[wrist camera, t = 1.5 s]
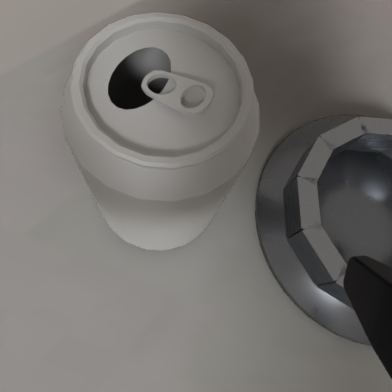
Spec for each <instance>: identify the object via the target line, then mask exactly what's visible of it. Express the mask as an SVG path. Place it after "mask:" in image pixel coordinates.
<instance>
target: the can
mask: <svg viewBox="0 0 392 392" xmlns="http://www.w3.org/2000/svg"><path fill="white" fill-rule="evenodd" d="M61 117H62V122H63V127H64V133H65V138H66V141H67V143H68V145H69V147H70V149H71V151H72V153H73V155H74V157H75V160H76V162H77V164H78V166H79V168H80V170H81V172H82V174H83V176H84V178H85V180H86V182H87V184H88V186H89V188H90V190H91V192H92V194H93V196H94V199H95V201H96V203H97V205H98V207H99V209H100V211H101V213H102V215H103V216H104V218H105V220H106V221H107V223H108V225H109V226H110V228H111V230H113V231H114V232H115V233H116V234H117V235H119V236H120V237H121V238H122V239H123V240H125V241H126V242H128V243H130V244H133V245H135V246H138V247H140V248H143V249H148V250H168V249H172V248H176V247H180V246H184V245H185V244H187V243H188V242H190V241H192V240H193V239H195V238H196V237H198V236H199V235H200V234H201V233H202V232H203V231H204V229H205V228H206V227H207V226H208V224H209V223H210V222H211V221H212V219H213V217H214V216H215V214H216V212H217V211H218V209H219V207H220V206H221V204H222V202H223V201H224V199H225V198H226V196H227V194H228V193H229V191H230V189H231V188H232V186H233V184H234V183H235V181H236V179H237V178H238V176H239V174H240V173H241V171H242V169H243V168H244V166H245V164H246V163H247V161H248V160H249V158H250V156H251V154H252V151H253V148H254V145H255V142H256V139H257V136H258V134H259V131H260V125H259V103H258V100H257V97H256V95H255V92H254V81H253V79H252V76H251V73H250V71H249V68H248V66H247V63H246V60H245V58H244V57H243V56H242V55H241V53H240V52H239V51H238V50H237V49H236V47H235V46H234V45H233V44H232V42H231V41H230V40H229V39H228V38H226V37H225V36H223V35H222V34H221V33H219V32H218V31H216V30H215V29H214V28H212V27H211V26H209V25H207V24H205V23H202V22H200V21H197V20H194V19H192V18H189V17H187V16H184V15H176V14H168V13H160V12H155V13H147V14H139V15H131V16H128V17H126V18H123V19H121V20H118V21H116V22H114V23H111V24H109V25H107V26H105V27H104V28H103V29H102V30H100V31H99V32H98V33H97V34H95V35H94V36H93V37H92V38H90V39H89V40H88V41H87V42H86V44H85V45H84V47H83V49H82V50H81V52H80V53H79V55H78V57H77V58H76V60H75V61H74V66H73V71H72V75H71V76H70V78H69V80H68V81H67V83H66V85H65V90H64V96H63V101H62V106H61Z"/></svg>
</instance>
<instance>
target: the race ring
mask: <svg viewBox="0 0 392 392" xmlns="http://www.w3.org/2000/svg"><path fill="white" fill-rule="evenodd" d="M255 216H256V225H257V232H258V237H259V241H260V245H261V248H262V251H263V253H264V256H265V259H266V261H267V263H268V265H269V267H270V269H271V271H272V273H273V275H274V277H275V278H276V280H277V281H278V283H279V284H280V286H281V287H282V289H283V290H284V292H285V293H286V294H287V295H288V296H289V298H290V299H291V300H292V301H293V302H294V303H295V304H296V305H297V306H298V307H299V308H300V309H301V310H302V311H303V312H304V313H305V314H306V315H307V316H309V317H310V318H311V319H313V320H314V321H315V322H317V323H318V324H320V325H321V326H322V327H324V328H326V329H327V330H329V331H331V332H333V333H335V334H337V335H339V336H341V337H344V338H346V339H349V340H351V341H354V342H357V343H361V344H366V345H370V346H372V345H371V343H370V342H369V340H368V338H367V336H366V334H365V332H364V330H363V328H362V326H361V324H360V321H359V319H358V317H357V315H356V313H355V311H354V309H353V307H352V305H351V302H350V300H349V298H348V296H347V294H346V292H345V290H344V286H343V280H344V276H345V272H346V268H347V264H348V260H349V259H350V258H351V257H353V256H368V257H370V258H373V259H375V260H377V261H379V262H381V263H383V264H386V265H388V266H390V267H392V119H384V118H373V117H367V116H360V115H339V116H330V117H326V118H322V119H318V120H316V121H313V122H311V123H308V124H306V125H304V126H303V127H301V128H299V129H297V130H296V131H294V132H293V133H292V134H291V135H289V136H288V137H287V138H286V139H285V140H284V141H283V142H282V143H281V144H280V145H279V146H278V147H277V149H276V150H275V152H274V153H273V154H272V156H271V157H270V159H269V160H268V162H267V164H266V166H265V168H264V170H263V172H262V175H261V178H260V181H259V185H258V190H257V196H256V210H255Z"/></svg>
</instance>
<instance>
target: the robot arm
mask: <svg viewBox="0 0 392 392" xmlns="http://www.w3.org/2000/svg"><path fill="white" fill-rule="evenodd" d="M343 286H344V290H345V292H346V294H347V296H348V298H349V300H350V302H351V305H352V307H353V309H354V311H355V313H356V315H357V317H358V319H359V321H360V324H361V326H362V328H363V330H364V332H365V334H366V336H367V338H368V340H369V342H370V343H371V345H372V347H373V349H374V350H375V352H376V354H377V355H378V357H379V359H380V360H381V362H382V364H383V365H384V367H385V369H386V370H387V372H388V374H389V375H390V377H391V379H392V267H390V266H388V265H386V264H383V263H381V262H379V261H377V260H375V259H373V258H370V257H368V256H353V257H351V258H350V259H349V260H348V264H347V268H346V272H345V276H344V280H343Z"/></svg>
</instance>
